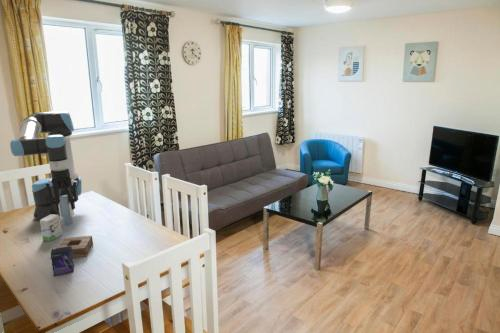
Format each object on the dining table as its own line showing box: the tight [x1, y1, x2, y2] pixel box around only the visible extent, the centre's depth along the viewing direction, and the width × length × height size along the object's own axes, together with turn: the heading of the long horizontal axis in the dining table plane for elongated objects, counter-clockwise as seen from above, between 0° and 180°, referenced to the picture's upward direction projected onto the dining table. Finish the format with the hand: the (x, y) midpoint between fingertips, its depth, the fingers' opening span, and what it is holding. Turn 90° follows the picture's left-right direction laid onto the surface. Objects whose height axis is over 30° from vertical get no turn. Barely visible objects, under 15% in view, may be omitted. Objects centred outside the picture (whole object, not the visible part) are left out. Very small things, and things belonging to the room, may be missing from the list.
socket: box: [57, 235, 94, 260], centre depth 169 cm, size 13×13×5 cm
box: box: [50, 246, 75, 277], centre depth 152 cm, size 8×6×11 cm
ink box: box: [39, 214, 63, 242], centre depth 183 cm, size 9×5×12 cm, turn 168°
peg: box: [59, 195, 74, 226], centre depth 163 cm, size 4×4×14 cm
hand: (67, 215), depth 164 cm, fingers closed on peg, 4 cm apart
